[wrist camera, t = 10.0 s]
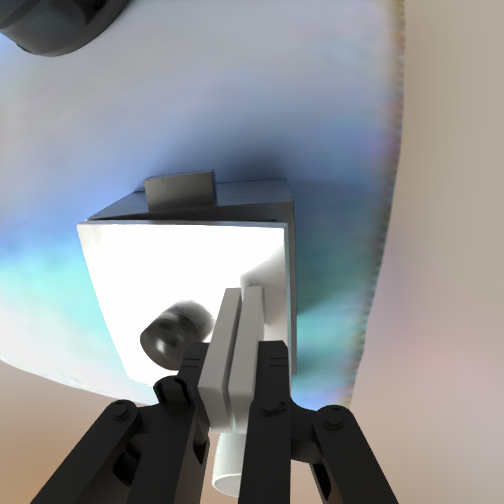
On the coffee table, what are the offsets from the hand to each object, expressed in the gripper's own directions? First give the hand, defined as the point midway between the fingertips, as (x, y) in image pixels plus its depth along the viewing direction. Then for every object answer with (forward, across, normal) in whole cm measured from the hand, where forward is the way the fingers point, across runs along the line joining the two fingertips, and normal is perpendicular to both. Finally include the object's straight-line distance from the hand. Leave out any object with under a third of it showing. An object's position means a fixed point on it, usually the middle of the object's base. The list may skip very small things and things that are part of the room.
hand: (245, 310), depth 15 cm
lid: (+3, -4, -3) cm, 6 cm away
